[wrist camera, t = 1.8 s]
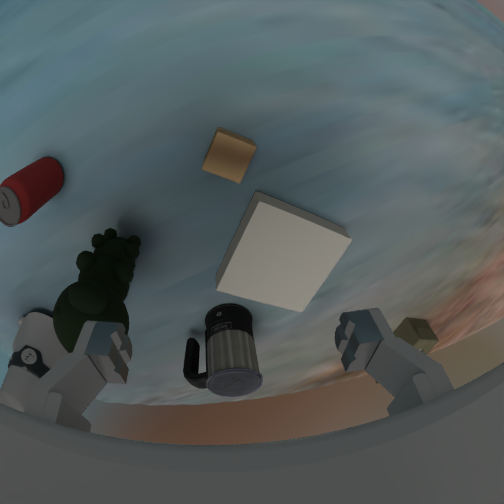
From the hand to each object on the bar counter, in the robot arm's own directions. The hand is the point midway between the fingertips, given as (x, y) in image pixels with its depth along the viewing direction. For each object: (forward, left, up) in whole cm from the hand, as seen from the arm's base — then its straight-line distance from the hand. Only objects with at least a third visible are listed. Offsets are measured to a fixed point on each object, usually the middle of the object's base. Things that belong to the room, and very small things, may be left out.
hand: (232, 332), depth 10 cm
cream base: (-12, -15, -31) cm, 36 cm away
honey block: (0, -1, -31) cm, 31 cm away
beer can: (-12, +25, -31) cm, 42 cm away
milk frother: (-33, -15, -31) cm, 47 cm away
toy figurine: (-22, +9, -31) cm, 39 cm away
